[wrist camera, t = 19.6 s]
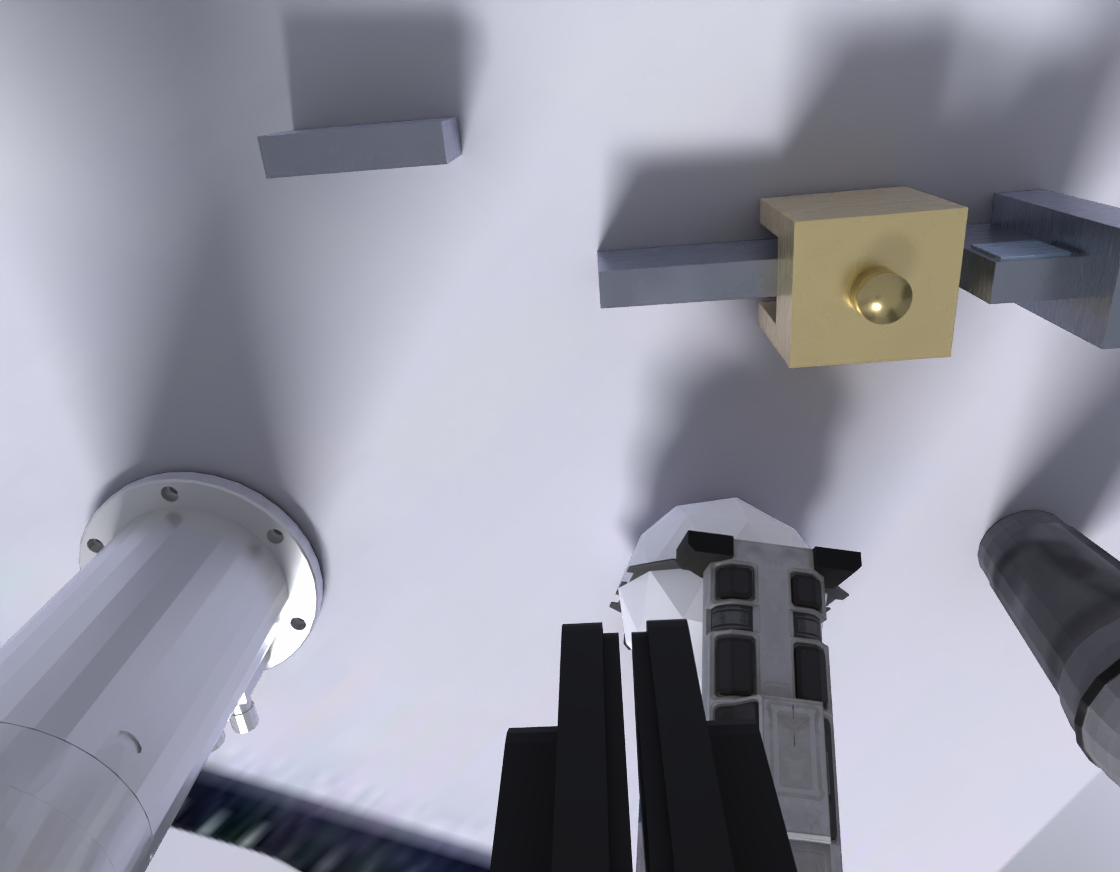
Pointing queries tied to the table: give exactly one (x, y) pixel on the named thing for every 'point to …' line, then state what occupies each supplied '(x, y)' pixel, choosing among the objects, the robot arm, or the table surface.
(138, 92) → the table surface
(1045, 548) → the beverage cup
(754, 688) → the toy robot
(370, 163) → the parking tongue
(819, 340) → the tan box with knob
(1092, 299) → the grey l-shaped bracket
